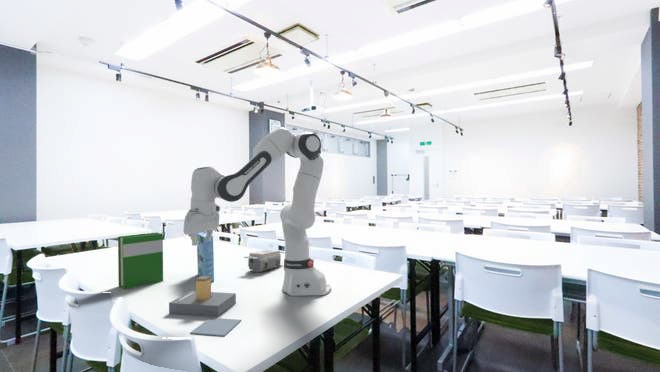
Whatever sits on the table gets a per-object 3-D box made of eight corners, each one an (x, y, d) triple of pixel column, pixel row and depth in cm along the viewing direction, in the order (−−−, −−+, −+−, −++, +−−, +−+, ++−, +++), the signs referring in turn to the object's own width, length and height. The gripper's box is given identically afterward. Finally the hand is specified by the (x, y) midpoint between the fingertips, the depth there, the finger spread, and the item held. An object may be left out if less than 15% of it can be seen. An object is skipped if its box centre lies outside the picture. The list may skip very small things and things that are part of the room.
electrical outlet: (240, 272, 178) (240, 254, 178) (270, 264, 203) (271, 248, 204) (257, 274, 173) (257, 255, 173) (286, 266, 198) (287, 249, 199)
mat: (241, 320, 115) (241, 319, 115) (224, 336, 103) (224, 335, 103) (210, 318, 117) (210, 317, 117) (190, 333, 106) (190, 332, 106)
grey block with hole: (235, 303, 133) (235, 292, 133) (218, 316, 119) (218, 305, 119) (191, 300, 136) (191, 290, 136) (169, 313, 123) (169, 302, 123)
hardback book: (123, 289, 152) (123, 238, 152) (118, 286, 157) (118, 236, 157) (163, 281, 165) (162, 233, 165) (157, 278, 170) (156, 232, 170)
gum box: (214, 281, 163) (213, 236, 163) (203, 283, 161) (203, 236, 160) (206, 273, 180) (206, 231, 180) (196, 274, 177) (196, 232, 177)
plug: (211, 306, 129) (210, 276, 129) (205, 310, 125) (205, 279, 125) (202, 306, 130) (201, 276, 130) (196, 309, 126) (195, 278, 126)
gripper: (195, 209, 117) (194, 248, 117) (222, 206, 137) (221, 239, 137) (179, 209, 118) (178, 247, 118) (208, 206, 138) (207, 239, 138)
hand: (201, 243), depth 127 cm, fingers open, 8 cm apart
